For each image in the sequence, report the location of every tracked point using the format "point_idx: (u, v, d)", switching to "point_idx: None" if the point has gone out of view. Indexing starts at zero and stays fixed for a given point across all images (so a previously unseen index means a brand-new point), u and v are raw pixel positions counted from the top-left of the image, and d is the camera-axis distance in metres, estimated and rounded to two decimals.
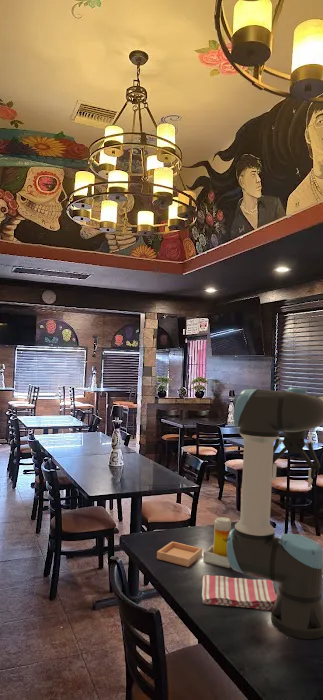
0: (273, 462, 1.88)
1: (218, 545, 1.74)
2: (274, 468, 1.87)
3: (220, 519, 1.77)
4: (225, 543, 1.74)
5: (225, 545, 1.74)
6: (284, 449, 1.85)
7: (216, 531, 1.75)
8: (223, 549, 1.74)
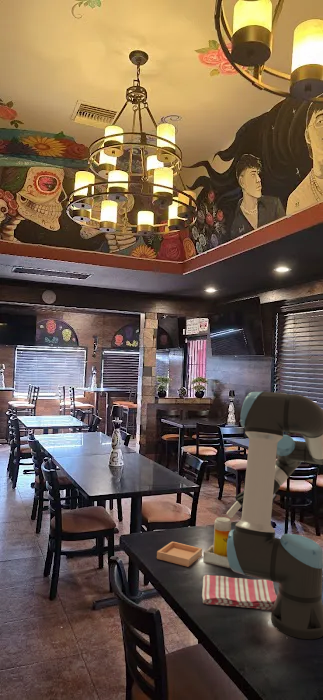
0: (238, 500, 1.89)
1: (218, 545, 1.74)
2: (234, 504, 1.87)
3: (220, 519, 1.77)
4: (225, 543, 1.74)
5: (225, 545, 1.74)
6: None
7: (216, 531, 1.75)
8: (223, 549, 1.74)
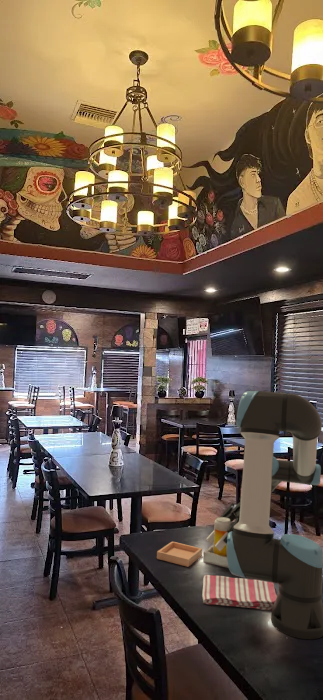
0: None
1: None
2: None
3: (220, 519, 1.77)
4: None
5: (225, 545, 1.74)
6: (232, 511, 1.81)
7: (216, 531, 1.75)
8: (223, 549, 1.74)
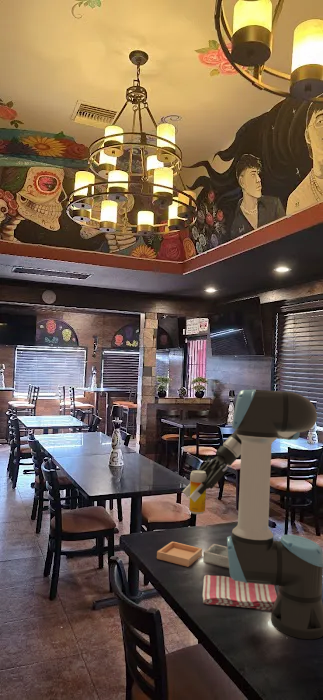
0: None
1: None
2: None
3: (196, 472, 1.80)
4: None
5: (200, 496, 1.77)
6: (208, 464, 1.84)
7: (191, 483, 1.78)
8: (198, 500, 1.76)
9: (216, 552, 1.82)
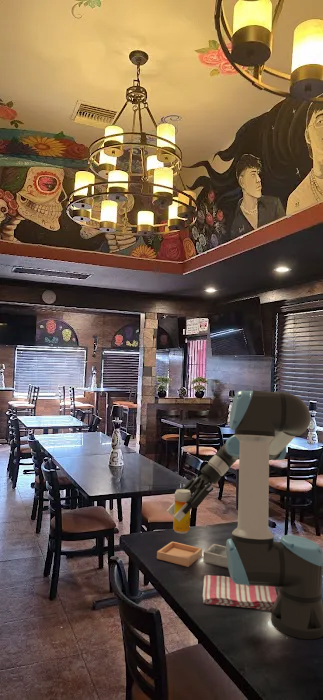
0: None
1: None
2: None
3: (180, 490, 1.80)
4: None
5: (184, 516, 1.76)
6: (193, 483, 1.83)
7: (176, 502, 1.77)
8: (182, 519, 1.76)
9: (216, 552, 1.82)
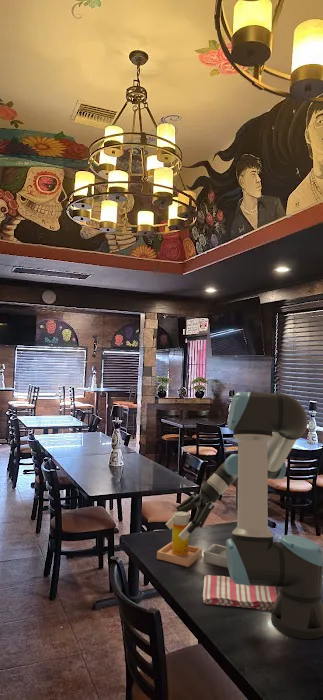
0: (178, 510, 1.85)
1: (176, 539, 1.75)
2: None
3: (178, 513, 1.79)
4: None
5: None
6: (192, 500, 1.83)
7: (174, 525, 1.76)
8: (181, 543, 1.75)
9: (216, 552, 1.82)
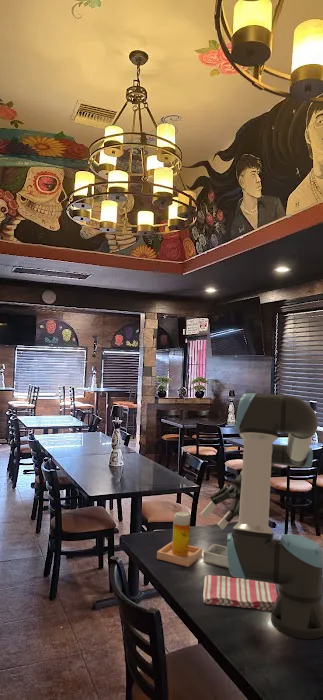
0: (212, 500, 1.91)
1: (176, 539, 1.75)
2: (209, 504, 1.90)
3: (179, 514, 1.78)
4: (183, 537, 1.75)
5: (183, 539, 1.75)
6: (226, 491, 1.89)
7: (175, 525, 1.76)
8: (181, 543, 1.75)
9: (216, 552, 1.82)
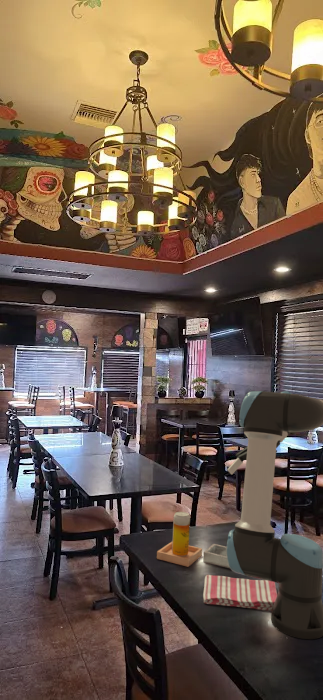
0: (238, 457, 1.92)
1: (176, 539, 1.75)
2: (235, 461, 1.91)
3: (179, 514, 1.78)
4: (183, 537, 1.75)
5: (183, 539, 1.75)
6: None
7: (175, 525, 1.76)
8: (181, 543, 1.75)
9: (216, 552, 1.82)
